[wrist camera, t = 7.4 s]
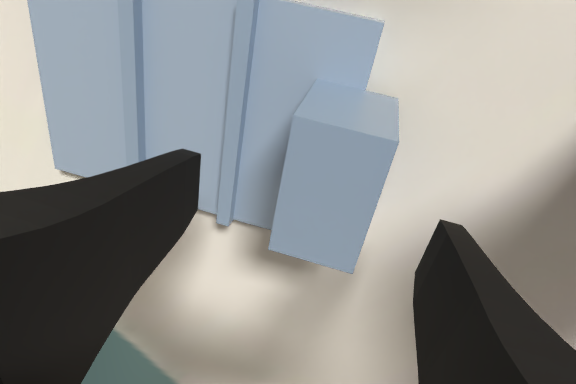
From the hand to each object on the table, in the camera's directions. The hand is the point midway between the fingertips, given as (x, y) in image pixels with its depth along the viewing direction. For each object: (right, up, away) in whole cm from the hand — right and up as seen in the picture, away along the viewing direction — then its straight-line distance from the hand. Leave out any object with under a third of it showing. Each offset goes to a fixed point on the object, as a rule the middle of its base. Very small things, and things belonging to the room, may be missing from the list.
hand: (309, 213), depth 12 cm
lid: (-5, +5, +5) cm, 8 cm away
